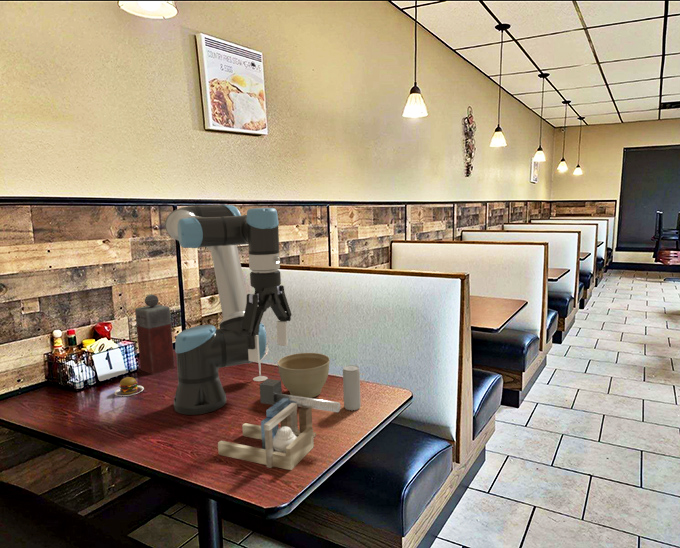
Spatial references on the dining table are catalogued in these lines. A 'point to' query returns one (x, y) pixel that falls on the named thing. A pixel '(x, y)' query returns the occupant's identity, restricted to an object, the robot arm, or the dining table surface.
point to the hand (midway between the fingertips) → (269, 352)
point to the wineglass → (260, 378)
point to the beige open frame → (268, 456)
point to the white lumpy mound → (283, 439)
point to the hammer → (287, 403)
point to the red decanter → (154, 336)
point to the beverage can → (351, 387)
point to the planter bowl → (304, 373)
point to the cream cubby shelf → (300, 420)
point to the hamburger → (128, 386)
